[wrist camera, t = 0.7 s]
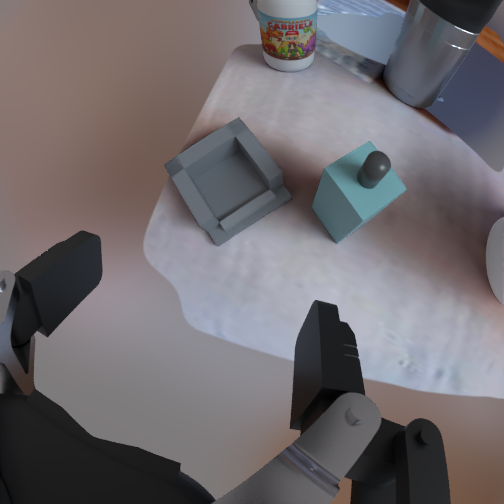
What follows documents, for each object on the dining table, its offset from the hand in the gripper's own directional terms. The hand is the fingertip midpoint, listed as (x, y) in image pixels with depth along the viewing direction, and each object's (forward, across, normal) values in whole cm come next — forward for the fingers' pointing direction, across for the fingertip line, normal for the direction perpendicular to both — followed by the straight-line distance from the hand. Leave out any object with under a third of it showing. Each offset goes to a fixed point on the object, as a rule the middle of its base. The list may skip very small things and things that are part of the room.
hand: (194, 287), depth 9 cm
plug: (+23, -10, +2) cm, 25 cm away
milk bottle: (+37, +2, -17) cm, 41 cm away
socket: (+24, +3, +3) cm, 25 cm away
